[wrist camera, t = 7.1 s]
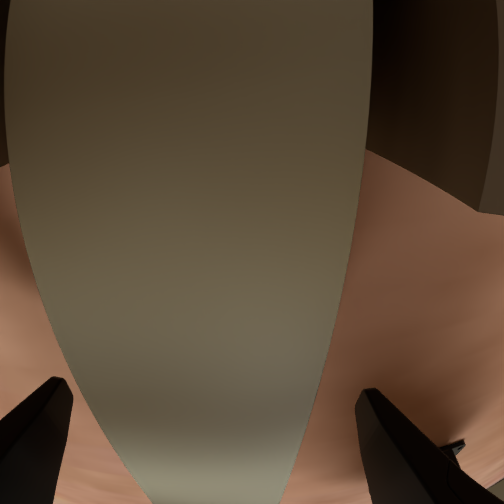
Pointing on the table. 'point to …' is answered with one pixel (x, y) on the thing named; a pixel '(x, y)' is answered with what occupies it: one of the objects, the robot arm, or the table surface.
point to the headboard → (424, 94)
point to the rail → (191, 219)
